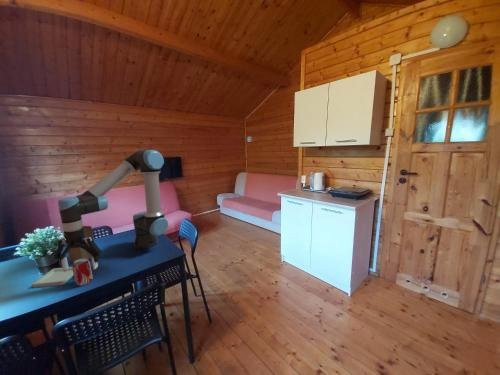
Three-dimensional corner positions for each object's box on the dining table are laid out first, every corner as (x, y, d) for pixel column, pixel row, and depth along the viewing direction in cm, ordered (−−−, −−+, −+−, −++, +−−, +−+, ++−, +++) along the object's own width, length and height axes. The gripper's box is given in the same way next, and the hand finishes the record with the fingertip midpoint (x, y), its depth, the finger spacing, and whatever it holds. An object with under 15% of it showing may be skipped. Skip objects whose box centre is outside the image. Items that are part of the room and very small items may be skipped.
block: (82, 263, 128) (76, 232, 124) (69, 262, 130) (62, 231, 126) (97, 255, 138) (92, 225, 134) (84, 254, 140) (78, 224, 136)
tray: (81, 269, 122) (80, 265, 121) (63, 284, 108) (62, 281, 108) (54, 271, 120) (53, 268, 120) (32, 288, 107) (31, 284, 106)
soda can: (90, 285, 107) (85, 263, 105) (73, 288, 105) (68, 266, 103) (95, 277, 114) (91, 256, 111) (80, 279, 112) (75, 258, 109)
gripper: (105, 224, 109) (111, 263, 113) (51, 228, 106) (59, 267, 110) (96, 230, 102) (103, 271, 105) (38, 234, 99) (47, 276, 102)
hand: (81, 269), depth 108 cm, fingers open, 13 cm apart
